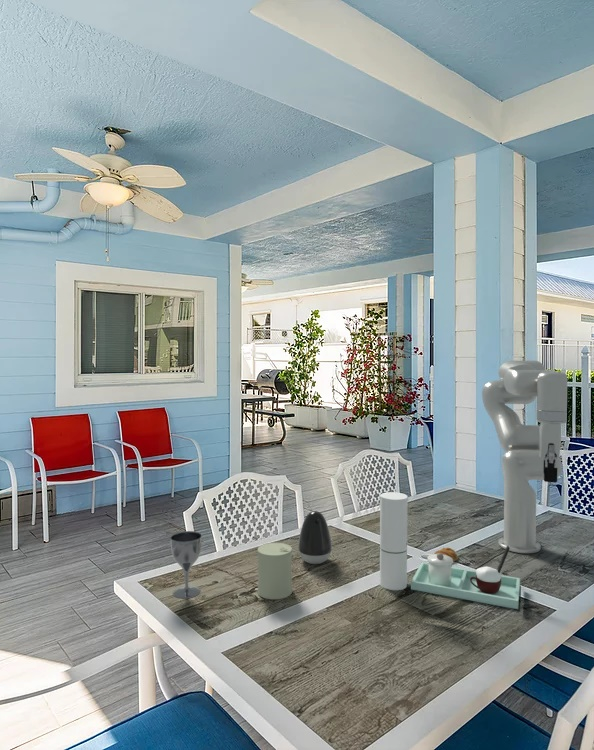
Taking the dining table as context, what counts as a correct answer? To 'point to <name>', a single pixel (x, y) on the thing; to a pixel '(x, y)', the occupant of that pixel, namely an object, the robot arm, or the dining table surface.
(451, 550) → the pastry
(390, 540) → the cylindrical container
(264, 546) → the can
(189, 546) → the wine glass
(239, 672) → the dining table surface
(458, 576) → the tray
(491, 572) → the cocoa
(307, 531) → the black egg-shaped piece
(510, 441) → the robot arm
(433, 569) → the sugar pot
